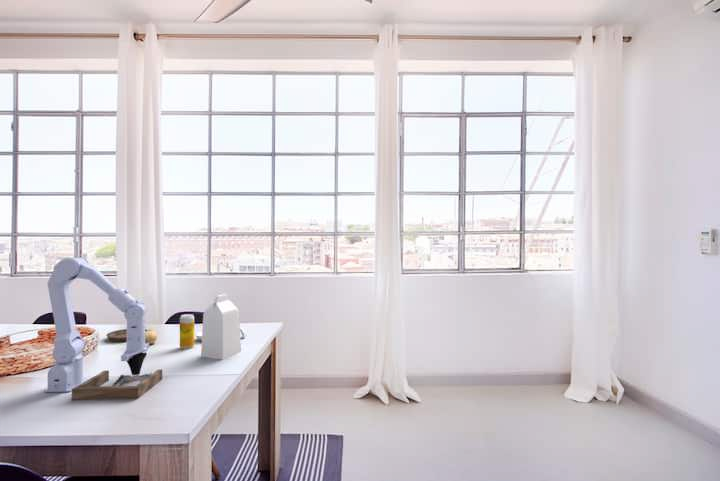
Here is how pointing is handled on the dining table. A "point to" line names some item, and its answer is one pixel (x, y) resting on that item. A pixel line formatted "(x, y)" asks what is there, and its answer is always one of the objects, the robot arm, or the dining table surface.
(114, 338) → the plant saucer
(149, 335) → the beige rounded lump
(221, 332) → the milk
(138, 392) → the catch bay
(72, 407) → the dining table surface
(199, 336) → the spoon rest
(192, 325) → the yellow bottle
